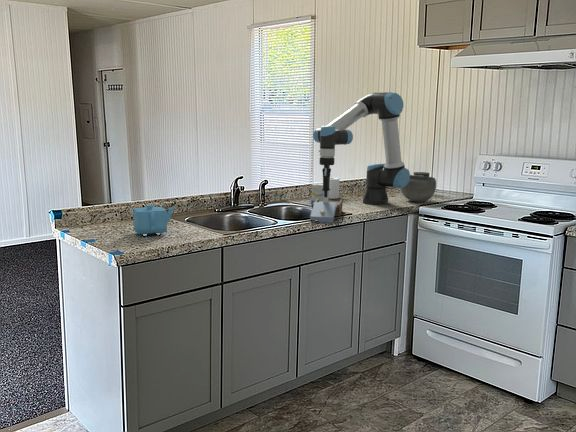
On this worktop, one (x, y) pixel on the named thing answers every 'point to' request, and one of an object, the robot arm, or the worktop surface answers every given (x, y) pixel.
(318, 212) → the cover plate
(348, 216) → the worktop surface
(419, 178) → the bowl
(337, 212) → the walnut box
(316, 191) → the ink box
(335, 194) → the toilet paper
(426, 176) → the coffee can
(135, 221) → the teapot
